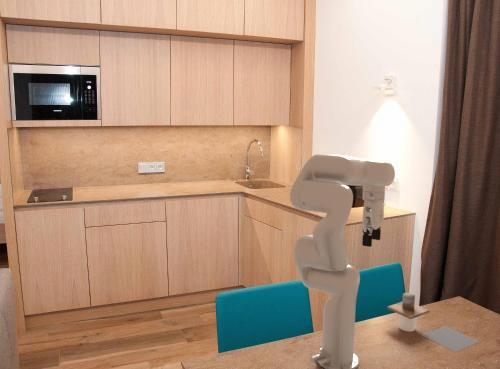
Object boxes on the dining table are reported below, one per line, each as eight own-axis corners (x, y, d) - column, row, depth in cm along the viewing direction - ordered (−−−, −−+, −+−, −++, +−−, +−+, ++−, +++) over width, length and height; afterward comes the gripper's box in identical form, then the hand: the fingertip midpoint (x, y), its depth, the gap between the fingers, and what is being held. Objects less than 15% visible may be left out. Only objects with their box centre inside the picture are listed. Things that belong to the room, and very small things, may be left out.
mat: (455, 353, 146) (455, 352, 146) (421, 336, 157) (421, 335, 156) (479, 342, 152) (479, 341, 152) (444, 327, 163) (445, 326, 163)
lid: (410, 319, 154) (411, 303, 153) (387, 308, 163) (388, 293, 162) (429, 312, 160) (430, 296, 159) (405, 302, 168) (406, 287, 167)
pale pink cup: (420, 333, 159) (421, 314, 158) (400, 333, 159) (401, 314, 158) (413, 324, 166) (414, 306, 164) (394, 324, 166) (395, 306, 165)
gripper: (376, 200, 151) (374, 250, 153) (391, 193, 165) (389, 238, 168) (354, 198, 155) (352, 247, 157) (371, 191, 169) (369, 235, 172)
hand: (371, 242), depth 162 cm, fingers open, 9 cm apart
